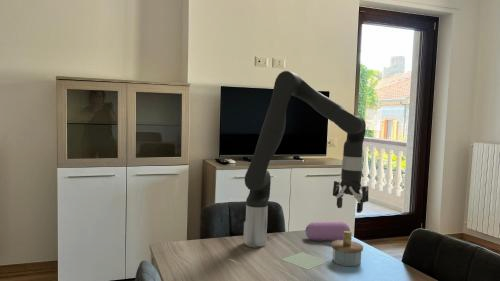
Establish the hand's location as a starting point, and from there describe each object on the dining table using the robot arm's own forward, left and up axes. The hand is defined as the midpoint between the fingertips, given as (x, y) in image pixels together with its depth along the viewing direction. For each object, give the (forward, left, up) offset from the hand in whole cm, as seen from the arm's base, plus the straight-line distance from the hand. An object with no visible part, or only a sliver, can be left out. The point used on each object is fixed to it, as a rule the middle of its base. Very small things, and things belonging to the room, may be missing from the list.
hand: (349, 210), depth 157 cm
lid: (0, 0, -15) cm, 15 cm away
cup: (0, 0, -21) cm, 21 cm away
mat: (-11, -12, -21) cm, 26 cm away
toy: (-21, +17, -21) cm, 34 cm away
